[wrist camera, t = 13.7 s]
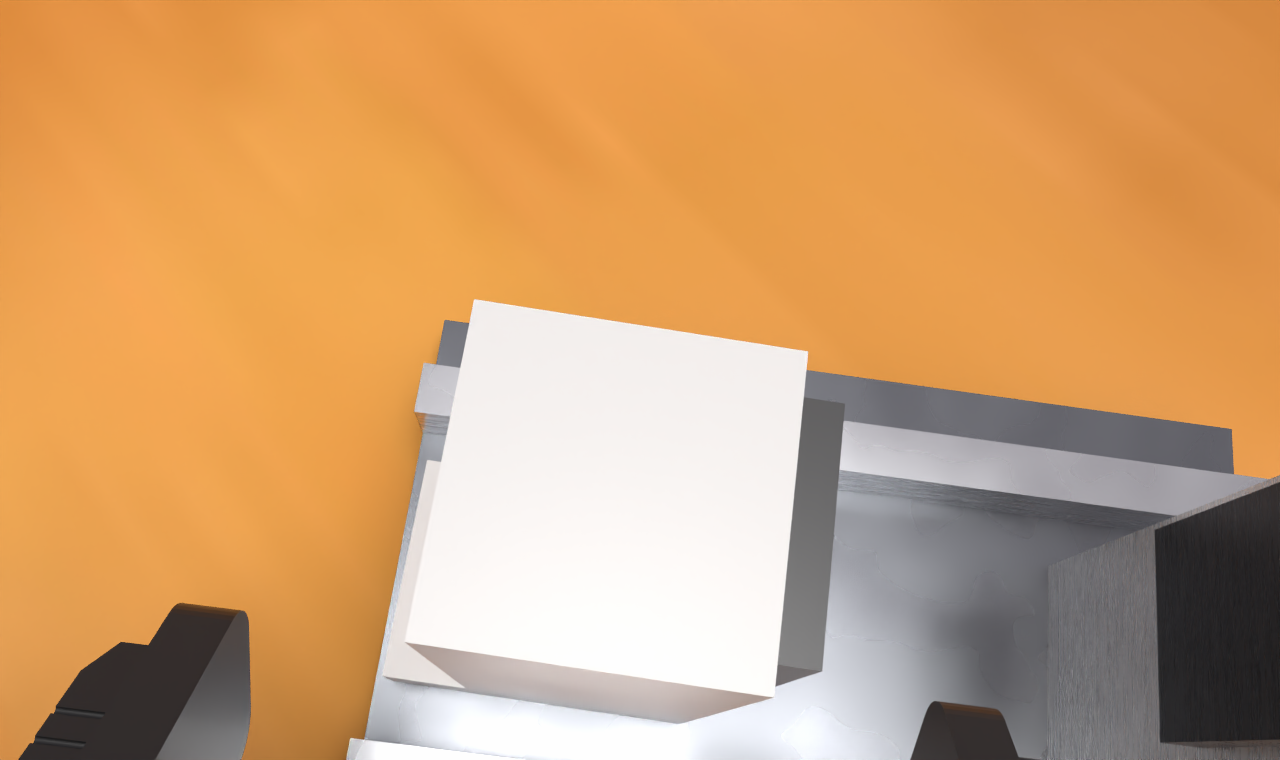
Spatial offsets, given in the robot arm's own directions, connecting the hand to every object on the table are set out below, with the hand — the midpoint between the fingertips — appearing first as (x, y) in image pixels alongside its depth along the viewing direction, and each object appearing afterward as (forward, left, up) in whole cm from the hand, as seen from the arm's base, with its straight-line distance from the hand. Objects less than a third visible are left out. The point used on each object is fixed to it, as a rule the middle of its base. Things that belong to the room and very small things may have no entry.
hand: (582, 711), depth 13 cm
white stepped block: (0, +2, -9) cm, 9 cm away
